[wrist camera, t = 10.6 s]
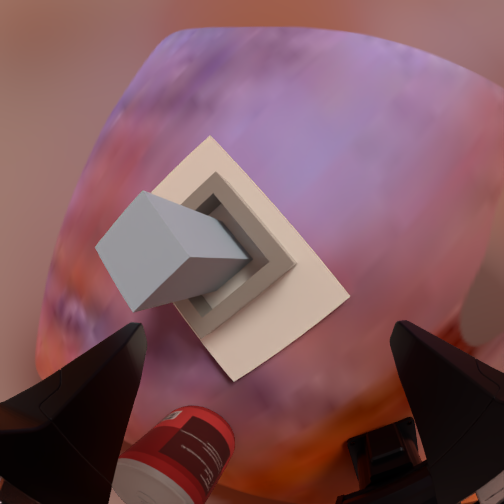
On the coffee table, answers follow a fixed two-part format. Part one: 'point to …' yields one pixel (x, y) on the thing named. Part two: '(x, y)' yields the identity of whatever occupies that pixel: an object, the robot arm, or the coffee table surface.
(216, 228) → the post
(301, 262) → the well
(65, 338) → the coffee table surface
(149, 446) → the canned food
